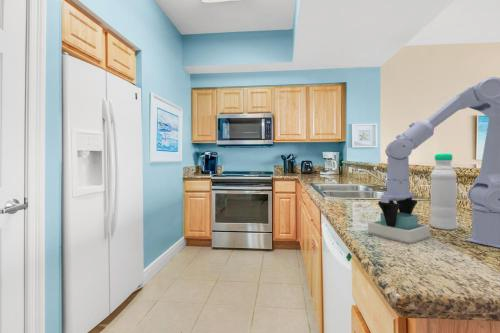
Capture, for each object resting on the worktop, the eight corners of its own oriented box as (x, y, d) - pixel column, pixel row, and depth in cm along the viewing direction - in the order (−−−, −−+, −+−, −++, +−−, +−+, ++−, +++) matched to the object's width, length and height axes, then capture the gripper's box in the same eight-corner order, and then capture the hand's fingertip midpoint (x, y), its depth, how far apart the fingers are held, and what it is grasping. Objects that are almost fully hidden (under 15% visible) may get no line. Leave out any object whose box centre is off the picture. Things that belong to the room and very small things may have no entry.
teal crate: (391, 229, 81) (390, 210, 81) (417, 235, 74) (417, 215, 74) (380, 232, 78) (380, 212, 78) (407, 238, 71) (407, 217, 71)
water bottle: (461, 230, 81) (462, 153, 80) (436, 229, 82) (437, 153, 82) (449, 225, 88) (449, 153, 87) (426, 224, 89) (426, 154, 89)
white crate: (388, 228, 84) (388, 218, 84) (429, 237, 74) (429, 225, 74) (368, 233, 79) (368, 222, 79) (409, 244, 68) (409, 231, 68)
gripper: (397, 178, 83) (397, 218, 83) (371, 180, 76) (371, 224, 76) (421, 179, 77) (421, 223, 77) (394, 181, 70) (394, 230, 70)
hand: (397, 224), depth 76 cm, fingers open, 7 cm apart
